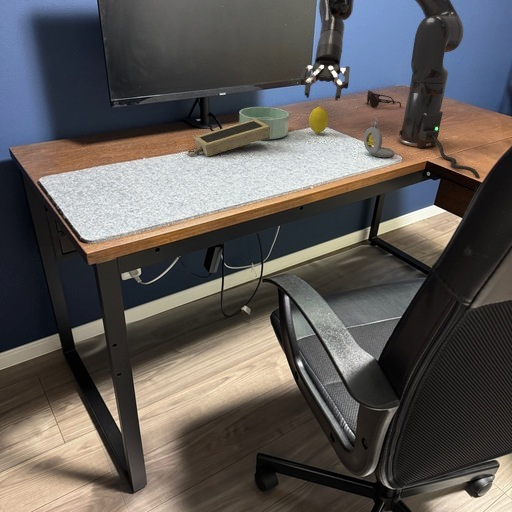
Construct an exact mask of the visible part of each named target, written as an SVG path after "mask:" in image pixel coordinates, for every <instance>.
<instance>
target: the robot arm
mask: <svg viewBox="0 0 512 512" xmlns="http://www.w3.org/2000/svg"><path fill="white" fill-rule="evenodd" d="M414 1H415V3H416V4H417V5H418V7H420V10H421V11H422V14H424V18H422V20H421V21H420V23H419V24H418V26H417V28H416V31H415V34H414V35H415V36H414V40H413V47H412V55H411V56H412V57H411V62H410V68H411V72H412V73H411V79H410V83H409V90H408V95H407V100H406V105H405V109H404V115H403V120H402V126H401V129H400V130H399V135H398V137H399V139H398V140H399V142H400V143H401V144H404V145H406V146H409V147H413V148H419V149H423V148H430V147H436V145H437V147H438V149H439V153H440V156H441V158H442V159H444V160H446V161H450V166H451V167H452V168H453V169H457V170H463V171H464V170H465V171H467V172H471V174H473V176H474V177H475V178H476V179H478V180H479V179H481V177H480V174H479V172H478V171H477V170H476V169H474V168H473V167H471V166H466V165H459V164H457V159H456V158H455V157H452V156H448V155H447V154H446V153H445V152H444V147H443V145H442V143H441V142H440V140H439V139H438V138H439V134H440V126H441V122H442V120H443V119H442V118H443V111H441V110H442V104H443V100H444V96H445V92H446V88H447V82H448V79H449V70H448V69H447V68H445V66H444V58H445V53H450V52H453V51H455V50H456V49H457V48H458V47H460V45H461V43H462V42H463V38H464V33H465V32H464V31H465V30H464V25H463V22H462V19H461V17H460V15H459V14H458V12H457V10H456V8H455V7H454V5H453V3H452V1H451V0H414ZM318 10H319V11H318V12H319V17H320V23H321V24H320V25H321V27H320V32H319V33H320V34H319V39H318V41H317V47H316V51H315V52H316V53H315V58H314V63H313V65H309V64H308V63H307V62H305V63H303V65H302V70H301V73H300V85H301V86H305V87H304V96H305V97H306V98H307V99H309V98H310V93H311V86H313V85H314V84H316V83H317V82H318V81H319V82H326V83H330V82H332V84H333V85H334V86H335V88H336V90H335V95H334V96H335V97H334V101H338V100H339V99H341V95H342V90H344V89H345V90H346V89H348V88H349V82H350V66H349V65H346V66H345V67H341V59H342V53H343V40H344V33H345V22H344V21H346V20H348V19H349V18H350V17H351V16H352V14H353V11H354V0H319V3H318ZM311 71H312V73H311V75H310V76H309V77H308V78H307V75H308V74H310V72H311ZM340 74H342V76H343V77H344V80H343V81H342V80H341V78H340V76H339V75H340ZM478 185H479V184H478ZM478 185H475V189H474V192H475V191H476V189H477V187H478Z"/></svg>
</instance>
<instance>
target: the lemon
mask: <svg viewBox="0 0 512 512" xmlns="http://www.w3.org/2000/svg"><path fill="white" fill-rule="evenodd" d="M308 125H309V127H310V129H311V130H312V131H313V132H314V133H315V134H316V135H318V134H320V133H321V132H323V131H325V130H326V128H327V127H328V125H329V114H328V112H327V110H326V109H325V108H324V107H322V106H321V105H320V106H319V105H318V107H315V108H314V109H313V110H312V111H311V113H310V115H309V118H308Z"/></svg>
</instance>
